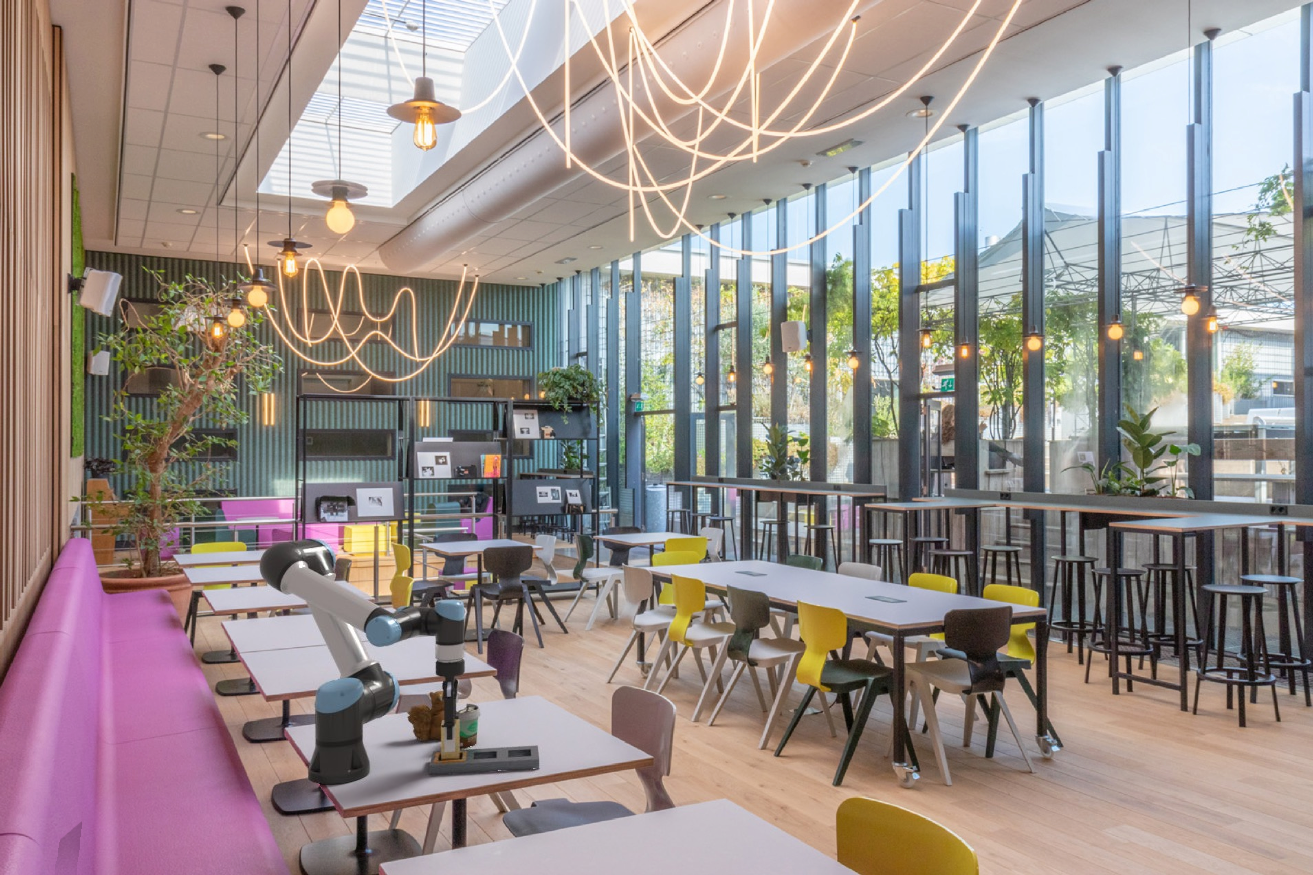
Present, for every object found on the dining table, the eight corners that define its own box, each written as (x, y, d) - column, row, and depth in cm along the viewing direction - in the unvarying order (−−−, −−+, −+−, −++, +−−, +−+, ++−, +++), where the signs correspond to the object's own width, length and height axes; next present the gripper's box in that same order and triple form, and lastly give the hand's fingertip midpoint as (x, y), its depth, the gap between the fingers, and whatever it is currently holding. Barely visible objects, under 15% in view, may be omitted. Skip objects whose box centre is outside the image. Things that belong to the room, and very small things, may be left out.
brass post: (441, 767, 244) (441, 724, 244) (442, 761, 248) (442, 720, 248) (458, 766, 244) (458, 723, 245) (459, 760, 249) (459, 719, 249)
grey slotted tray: (429, 775, 239) (429, 764, 240) (432, 760, 251) (432, 750, 251) (539, 768, 244) (539, 758, 244) (537, 754, 256) (537, 744, 256)
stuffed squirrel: (463, 737, 272) (463, 692, 273) (416, 746, 264) (416, 699, 265) (450, 729, 280) (449, 685, 281) (404, 738, 272) (404, 692, 273)
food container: (470, 751, 259) (470, 715, 259) (449, 750, 260) (449, 714, 260) (487, 738, 271) (487, 703, 271) (467, 737, 272) (467, 703, 272)
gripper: (463, 665, 239) (463, 757, 238) (466, 651, 256) (466, 737, 256) (432, 667, 238) (433, 759, 237) (438, 653, 255) (438, 739, 254)
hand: (450, 747), depth 246 cm, fingers open, 5 cm apart
